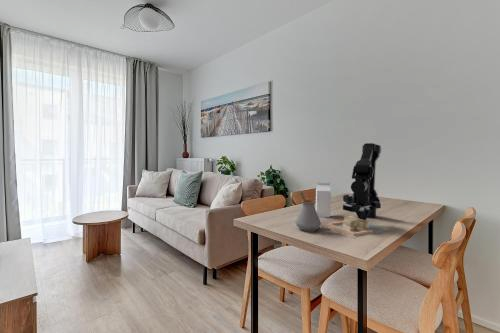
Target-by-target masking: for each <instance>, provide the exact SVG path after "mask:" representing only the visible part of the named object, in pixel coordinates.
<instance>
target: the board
mask: <svg viewBox="0 0 500 333" xmlns="http://www.w3.org/2000/svg"><path fill="white" fill-rule="evenodd" d="M325 226H327V227H325V228H327V229H328V227H329V228H330V230H331V231H333V230H337V231H338V233H339V234H341V232H342V233H343V235H344V236H346V235H348V237H350V238H352V239H354V237H355V238H357V237H358V238H359V237H363V236H368V235H373V234H378V233H383V232H387V231H389V229H388V228H384V227H381V226H378V225H374V224H372V223H369V227H368V230H366V231H359V230H351V231H349V230H346V229H344V228H343V220H340V221H334V222H328V223H327V224H325ZM331 228H332V229H331ZM339 231H340V232H339ZM344 233H345V234H344ZM349 235H351V236H349ZM352 236H353V237H352Z"/></svg>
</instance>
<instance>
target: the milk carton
mask: <svg viewBox="0 0 500 333" xmlns="http://www.w3.org/2000/svg"><path fill="white" fill-rule="evenodd" d="M331 195H332V189H331V182H321V181H319V182H318V181H317V182H316V185H315V201H316V203H315V210H316V212H317V215H318V217H319V219H322V218H330V217H331V201H332V200H331V197H332V196H331Z"/></svg>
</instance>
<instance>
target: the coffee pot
mask: <svg viewBox="0 0 500 333" xmlns="http://www.w3.org/2000/svg"><path fill="white" fill-rule="evenodd" d="M299 195H300V197H301V199H302V200H301V201H300V202H301V203H302V206H301V209H300V211H299V214H298V215H297V218H296V220H295V225H296V226H297V227H298V229H299V230H301V231H304V232H316V231H317V230H318V229H319V228H320V227H321V225H322V222H321V220H320V218H319V217H318V215H317V212H316V200H311V199H309V200H308V199H305V196H304V194H303V192H302V191H300V192H299Z"/></svg>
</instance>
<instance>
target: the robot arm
mask: <svg viewBox="0 0 500 333" xmlns="http://www.w3.org/2000/svg"><path fill="white" fill-rule="evenodd" d="M361 149H362V152H361V157H360V159H359V160H357V161H356V163H355V165H353V169H352V173H351V179H352V180H354V181H353V182H351V185H350V190H351V191H352V192H353V193H352V195H351V196H350V195H349V194H344V195H343V196H342V200H343V202H344V204H343V205H342V211H348V212H351V213H356V216H357V218H359V219H362V220H366V221H367V219H375V218H376V217H377V210H378V209H381V208H382V207H381V206H382V204H381V201H380V198H379V196H378V194H379V193H378V192H377V190H376V189H375V187H376V184H375V183H376V168H377V167H376V166H377V161H378V159H379V158H380V154H381V153H382V146H381V145H380V144H377V143H374V142H369V143H363V145H362V148H361Z"/></svg>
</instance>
